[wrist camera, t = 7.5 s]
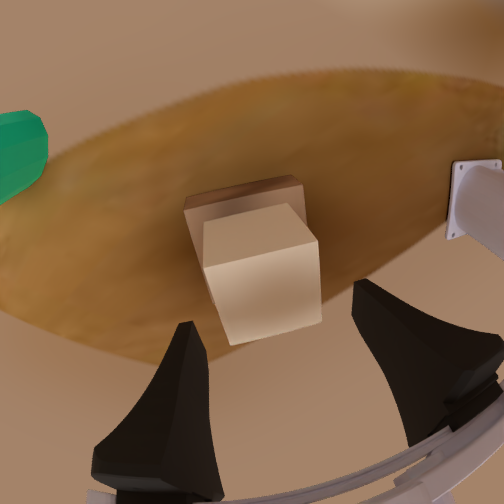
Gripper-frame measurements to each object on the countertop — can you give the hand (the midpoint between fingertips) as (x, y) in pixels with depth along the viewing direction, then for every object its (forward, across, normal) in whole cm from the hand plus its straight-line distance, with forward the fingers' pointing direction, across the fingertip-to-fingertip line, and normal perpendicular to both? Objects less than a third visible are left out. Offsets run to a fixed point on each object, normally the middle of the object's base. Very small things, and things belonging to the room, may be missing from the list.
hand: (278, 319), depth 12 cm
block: (+6, 0, 0) cm, 6 cm away
